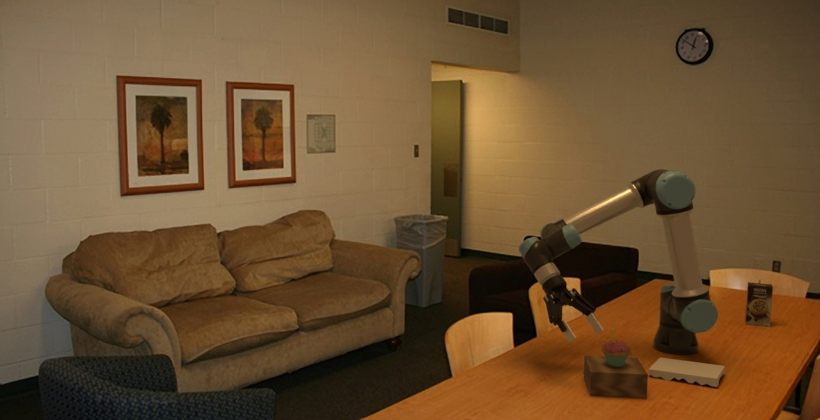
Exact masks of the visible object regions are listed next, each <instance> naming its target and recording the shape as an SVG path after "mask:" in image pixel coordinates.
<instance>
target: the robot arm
mask: <svg viewBox="0 0 820 420" xmlns="http://www.w3.org/2000/svg"><path fill="white" fill-rule="evenodd" d="M627 184H628V185H627V187H625V188H623V189H621V190H619V191H617V192H615V193H613V194H611V195H609V196H606V197H605V198H602V199H601V200H598V201H597V202H594V203H593V204H590V205H588V206H586V207H584V208H582V209H580V210H579V211H576V212H574V213H572V214H570V215H568V216H565V217H563V218H561V219H560V220H558V221H556V222H550V223H549V222H548V223H546V224H544V225H543V226H542V227H541V230H540V233H539V234H540V239H539V238H538V237H536V236H531V237H530V238H526V239H525V240H524V241H522V242H521V243H520V245H519V247H518V252H519V254H520V255H521V257H522V259H523V261H524V262H525V264H526V265H527V267H528V268H529V270H530V271H531V273H532V275H533V276H534V278H535V279H536V280H537V282H538V284H539V285H540V286H541V288H542V290H543V292H544V293H545V295H544V297H543V301H544V303H545V307H546V311H547V315H548V321H549V323H550V324H552V326H558V329H559V330H560V331H561V333H563V335H564V336H565V338H566V340H567V341H568V343H571V342H573V341H574V340H575V339H576V338H577V337H576V335H575V333H574V332H573V331H572V329H571V327H570V326H569V324H568V322H567V320H566V319H563V307H564V306H569V307H573V308H574V309H575V310H577V311H579V312H580V313H581V314H583V315H585V317H586V320H587V322H588V323H589V325H590V327H591V328H592V329H593V331H594V333H595V334H596V336H600V334H601V333H602V332H604V331H605V330H604V327H602V325H601V324H600V322H599V320H598V318H597V315H595V312H596V310H597V308H596V307H595V306H594V305H593V304H591V303H590V302H589V301H588V300H587V299H586V298H585V297H584V296H583V295H582V294H580V293H579V291H578V290H577V289H576V288H574V287H573V288H572V289H571V290H569V288H568V287H567V284H568V283H567V281H566V280H565V278H564V277H563V275H562V274H561V272H560V270H559V269H558V267H557V266H556V264H555V262H554V261H553V260H554V259H556V258H558V257H560V256H561V255H563V254H565V253H567V252H569V251H571V250H573V249H575V248H576V247H577V246H579V245H580V244H582V238H581V235H582V234H584V233H586V232H588V231H591V230H593V229H595V228H596V227H599V226H600V225H603V224H605V223H607V222H609V221H612V220H614V219H615V218H617V217H618V218H619V216H621V215H624V214H626V213H627V212H630V211H632V210H634V209H636V208H639V209H643V208H645V207H647V206H650V205H654V208H655V213H656V216H657V217H659V218H661V219H662V224H663V230H664V235H665V240H666V246H667V250H668V255H669V256H668V257H669V262H670V266H671V271H672V277H673V282H674V283H667V284H666V283H665V284H663V285H662V286H661V287H660V294H659V295H660V297H659V298H660V299H659V302H660V303H659V323H658V325H659V326H658V328H657V331H656V333H655V335H654V338H653V341H652V346H653V348H654V349H655V350H657V351H659V352H662V353H667V354H672V355H692V354H697V353H698V352H699V342H698V341H699V340H698V338H697V335H696V334H699V333H700V334H701V333H702V334H703V333H705V332H707V331H710V330H711V329H712V328H713V327H714V326H715V324H716V323H717V321H718V318H719V311H718V309H717V308H718V307H717V306H716V305H715V303H714V302H712V301H711V300H712V299H711V295H710V290H709V287H708V286H707V285H705V284H703V280H702V275H701V269H700V264H699V263H700V262H699V258H698V253H697V247H696V242H695V237H694V236H695V235H694V231H693V225H692V220H691V213H692V212H693V210H694V205H693V204H694V203H693V200H694V199H695V197H696V187H695V183H694V181H693V180H692V179H691V178H690V177H689V176H688V175H687V174H686V173H683V172H681V171H678V170H668V169H661V168H660V169H656V170H652V171H649V172H648V173H646V174H644V175H642V176H640V177H638V178H636V179H635V180H633V181H630V182H629V183H627Z"/></svg>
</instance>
